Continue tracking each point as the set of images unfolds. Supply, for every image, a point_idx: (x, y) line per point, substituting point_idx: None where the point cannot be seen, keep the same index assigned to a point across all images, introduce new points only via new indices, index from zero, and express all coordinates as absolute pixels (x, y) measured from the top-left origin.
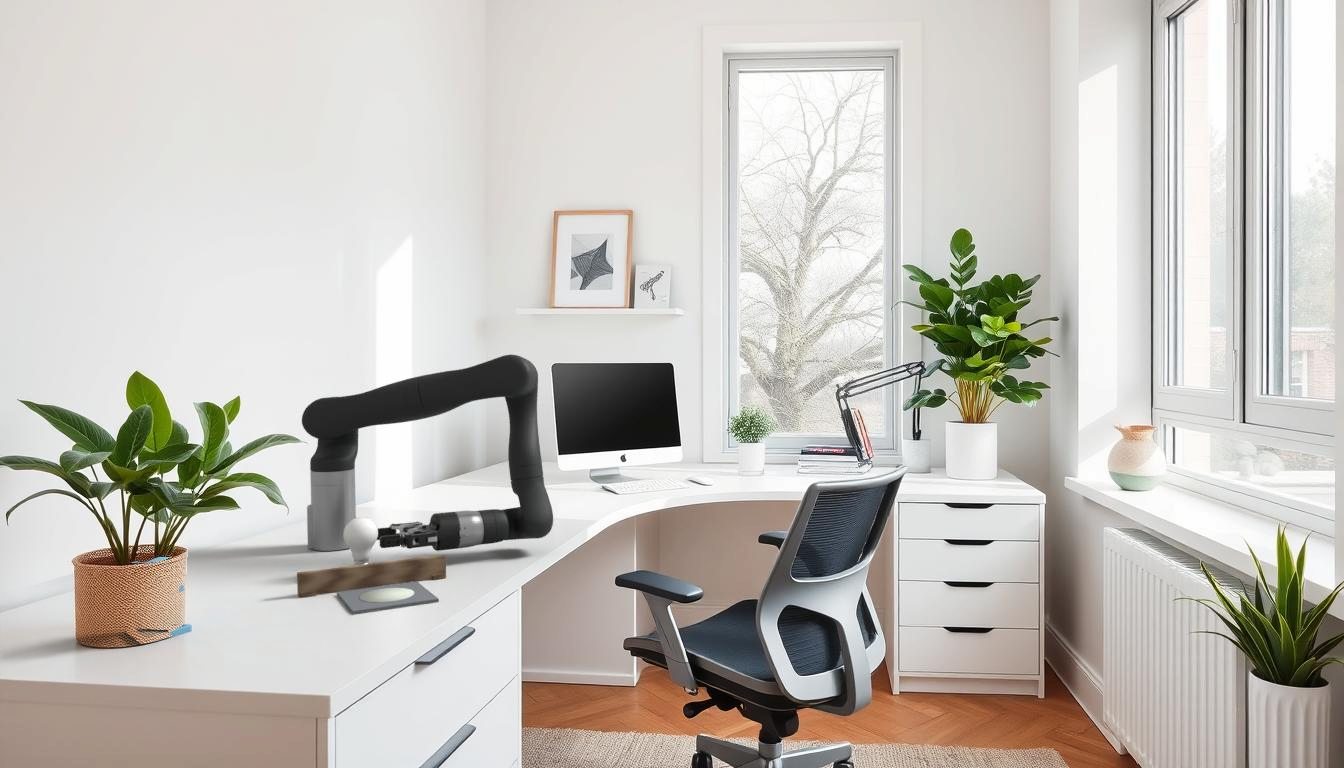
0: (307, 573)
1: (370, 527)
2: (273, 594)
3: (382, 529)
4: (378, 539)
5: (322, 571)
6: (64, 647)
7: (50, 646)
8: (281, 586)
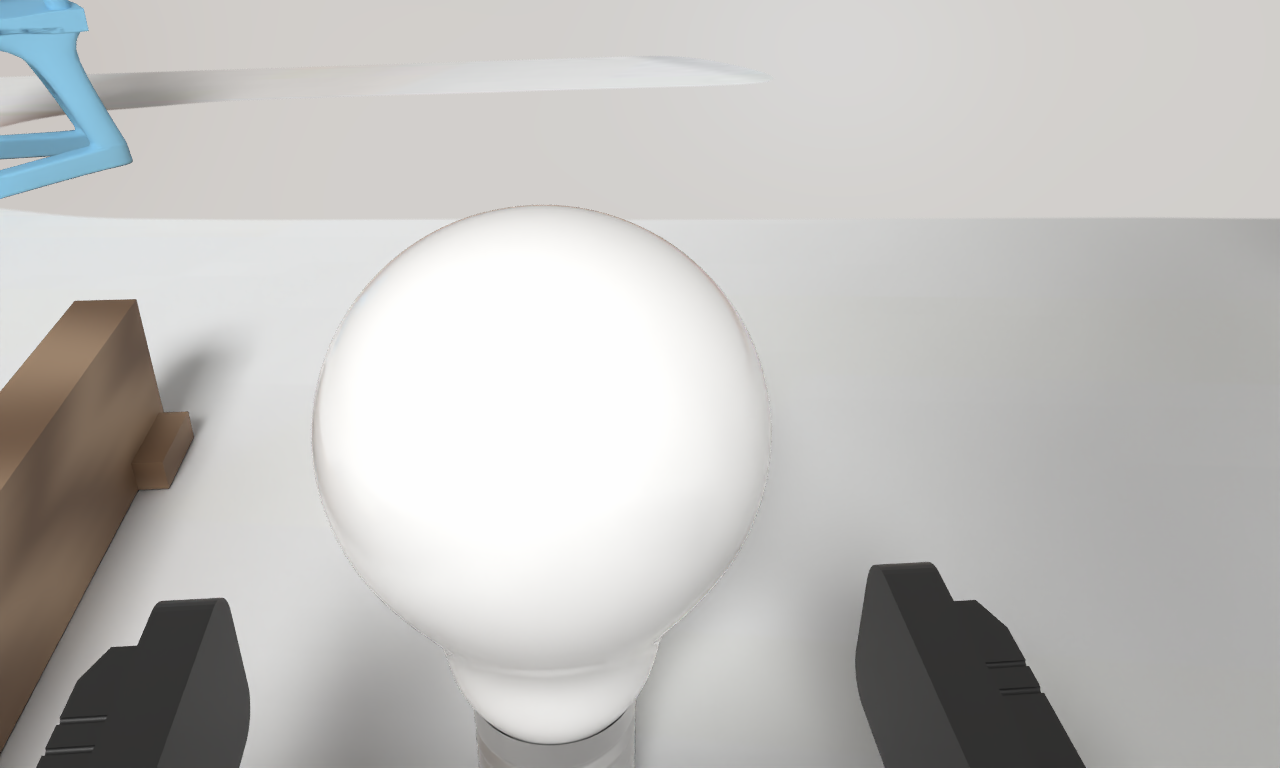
0: (53, 329)
1: (338, 398)
2: (303, 366)
3: (927, 697)
4: (888, 761)
5: (12, 380)
6: None
7: (144, 93)
8: None
